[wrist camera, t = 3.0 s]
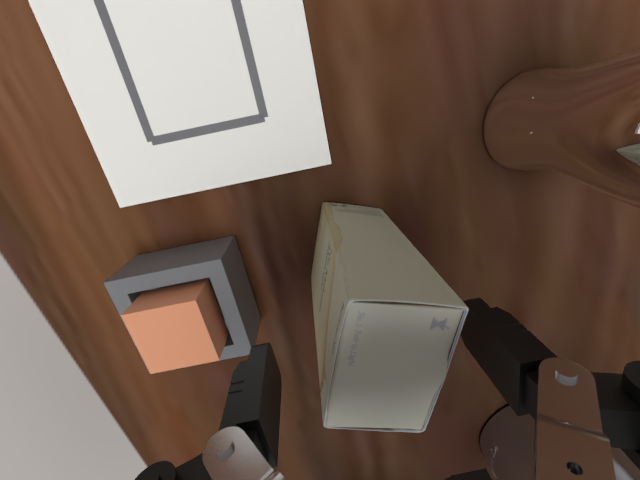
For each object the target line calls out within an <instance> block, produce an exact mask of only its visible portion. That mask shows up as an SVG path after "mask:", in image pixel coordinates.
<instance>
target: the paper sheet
mask: <svg viewBox="0 0 640 480" xmlns="http://www.w3.org/2000/svg"><path fill="white" fill-rule="evenodd" d="M28 1H29V4H30V6H31V8H32V10H33V13H34V15H35V17H36V19H37V22H38V24H39V26H40V28H41V31H42V33H43V35H44V37H45V40H46V42H47V44H48V46H49V49H50V51H51V53H52V55H53V58H54V60H55V62H56V64H57V67H58V69H59V71H60V73H61V76H62V78H63V80H64V82H65V85H66V87H67V89H68V91H69V94H70V96H71V98H72V101H73V103H74V105H75V107H76V110H77V112H78V114H79V116H80V119H81V121H82V123H83V125H84V128H85V130H86V132H87V134H88V137H89V139H90V141H91V143H92V146H93V148H94V150H95V152H96V155H97V157H98V159H99V161H100V164H101V166H102V168H103V170H104V173H105V175H106V177H107V179H108V182H109V184H110V186H111V189H112V191H113V193H114V195H115V198H116V200H117V202H118V204H119V207H120V208H121V207H126V206H131V205H136V204H141V203H146V202H150V201H155V200H160V199H165V198H170V197H174V196H179V195H184V194H189V193H194V192H199V191H203V190H208V189H213V188H218V187H223V186H227V185H232V184H237V183H242V182H247V181H252V180H256V179H261V178H266V177H271V176H276V175H280V174H285V173H290V172H295V171H300V170H305V169H309V168H314V167H319V166H324V165H329V164H332V163H331V157H330V152H329V146H328V141H327V135H326V129H325V124H324V118H323V113H322V107H321V101H320V96H319V90H318V85H317V79H316V74H315V68H314V62H313V57H312V51H311V46H310V40H309V34H308V29H307V23H306V18H305V12H304V6H303V1H302V0H28Z"/></svg>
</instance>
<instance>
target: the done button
mask: <svg viewBox="0 0 640 480" xmlns="http://www.w3.org/2000/svg"><path fill="white" fill-rule="evenodd" d="M121 317H122V319H123V321H124V323H125V325H126V327H127V329H128V331H129V333H130V335H131V337H132V339H133V341H134V342H135V344H136V346H137V348H138V350H139V352H140V354H141V356H142V358H143V360H144V362H145V364H146V366H147V368H148V370H149V372H150V374H153V373H158V372H163V371H168V370H173V369H178V368H183V367H188V366H194V365H199V364H204V363H209V362H214V361H219V360H220V357H221V354H222V352H223V349H224V346H225V343H226V340H227V337H228V334H229V333H228V330H227V328H226V325H225V322H224V319H223V317H222V314H221V311H220V309H219V306H218V303H217V300H216V298H215V295H214V292H213V290H212V287H211V284H210V281H209V279H204V280H199V281H194V282H189V283H184V284H180V285H175V286H170V287H165V288H160V289H155V290H150V291H145V292H142V293H141V294H140V295H139V296H138V297H137V298H136V300H135V301H134V302H133V303H132V304H131V305H130V306H129V307H128V308H127V309H126V310H125V311H124V312H123V313H122V315H121Z"/></svg>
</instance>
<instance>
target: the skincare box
mask: <svg viewBox="0 0 640 480" xmlns="http://www.w3.org/2000/svg"><path fill="white" fill-rule="evenodd" d="M311 285H312V299H313V312H314V324H315V335H316V346H317V358H318V370H319V381H320V392H321V405H322V416H323V426H324V427H325V428H333V429H352V430H369V431H388V432H415V433H420V432H423V431H425V429H426V427H427V424H428V421H429V419H430V416H431V414H432V411H433V409H434V406H435V404H436V401H437V398H438V395H439V392H440V390H441V388H442V385H443V383H444V380H445V377H446V375H447V372H448V369H449V365H450V362H451V359H452V356H453V354H454V351H455V348H456V345H457V342H458V339H459V336H460V333H461V330H462V328H463V324H464V321H465V319H466V316H467V313H468V310H469V309H468V307H467V306H466V304H465V303H464V302H463V301H462V300H461V299H460V298H459V297H458V295H457V294H456V293H455V292H454V291H453V290H452V289H451V288H450V286H449V285H448V284H447V283H446V282H445V281H444V280H443V279H442V278H441V276H440V275H439V274H438V273H437V272H436V271H435V269H434V268H433V267H432V266H431V265H430V264H429V262H428V261H427V260H426V259H425V258H424V257H423V256H422V254H421V253H420V252H419V251H418V250H417V249H416V248H415V247H414V246H413V244H412V243H411V242H410V241H409V240H408V239H407V237H406V236H405V235H404V234H403V233H402V232H401V231H400V230H399V229H398V227H397V226H396V225H395V224H394V223H393V222H392V220H391V219H390V218H389V217H388V216H387V215H386V214H385V212H384V211H383V210H382V209H380V208H373V207H366V206H358V205H350V204H341V203H330V202H323V203H322V208H321V215H320V220H319V226H318V232H317V239H316V245H315V252H314V260H313V267H312V274H311Z"/></svg>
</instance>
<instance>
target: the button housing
mask: <svg viewBox="0 0 640 480" xmlns="http://www.w3.org/2000/svg"><path fill="white" fill-rule="evenodd" d="M204 279H209V281H210V284H211V287H212V290H213V292H214V295H215V298H216V300H217V303H218V306H219V309H220V311H221V314H222V317H223V319H224V322H225V325H226V328H227V330H228V333H229V334H228V337H227V340H226V343H225V346H224V349H223V352H222V354H221V357H220V360H224V359H230V358H235V357H240V356H245V355H249V354H250V349H251V347H252V346H255V343H256V338H257V334H258V329H259V324H260V319H261V317H260V314H259V311H258V308H257V305H256V302H255V298H254V295H253V292H252V289H251V286H250V283H249V279H248V276H247V273H246V270H245V267H244V264H243V260H242V257H241V254H240V251H239V248H238V245H237V241H236V238H235V235H234V236H229V237H224V238H219V239H214V240H209V241H204V242H199V243H194V244H190V245H185V246H180V247H175V248H170V249H165V250H160V251H155V252H150V253H146V254H141V255H137V256H136V257H134V258H133V259H132V260H131V261H130V262H128V263H127V264H126V265H125V266H123V267H122V268H121V269H120V270H119V271H117V272H116V273H115V274H114V275H112V276H111V277H110V278H109V279H107V280H106V281H105V282H104V285H105V287H106V289H107V290H108V292H109V294H110V296H111V298H112V300H113V302H114V304H115V306H116V308H117V310H118V312H119V314H120V316H121V315H122V313H123V312H124V311H125V310H126V309H127V308H128V307H129V306H130V305H131V304H132V303H133V302H134V301H135V300H136V298H137V297H138V296H139V295H140V294H141V293H142V292H145V291H150V290H155V289H160V288H165V287H170V286H175V285H180V284H184V283H189V282H194V281H199V280H204ZM121 318H122V317H121ZM122 320H123V319H122ZM123 322H124V321H123ZM124 324H125V323H124ZM125 326H126V325H125ZM126 328H127V327H126ZM127 330H128V329H127ZM128 332H129V331H128ZM129 334H130V333H129ZM130 336H131V335H130ZM131 338H132V337H131ZM132 340H133V339H132ZM133 342H134V341H133ZM134 343H135V342H134ZM135 345H136V344H135ZM136 347H137V346H136ZM137 349H138V348H137ZM138 351H139V350H138ZM139 353H140V352H139ZM140 355H141V354H140ZM141 357H142V356H141ZM142 359H143V358H142ZM143 361H144V360H143ZM144 363H145V362H144ZM145 365H146V364H145ZM146 367H147V366H146ZM188 367H189V366H188ZM183 368H184V367H183ZM147 369H148V368H147ZM178 369H179V368H178ZM173 370H174V369H173ZM148 371H149V370H148ZM168 371H169V370H168ZM149 373H150V372H149Z"/></svg>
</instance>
